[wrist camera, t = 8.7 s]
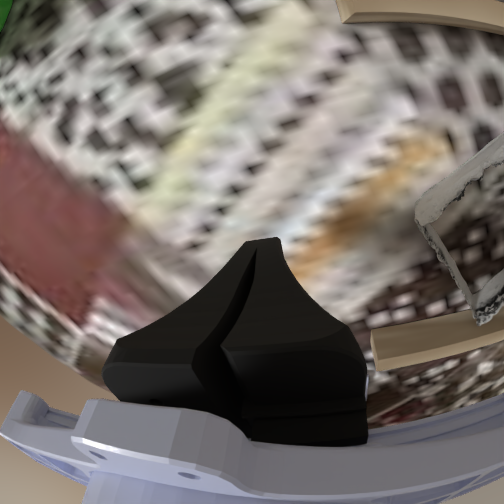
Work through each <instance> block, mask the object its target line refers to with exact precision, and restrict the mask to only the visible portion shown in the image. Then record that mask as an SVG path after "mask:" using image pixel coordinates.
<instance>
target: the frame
mask: <svg viewBox="0 0 504 504" xmlns="http://www.w3.org/2000/svg"><path fill="white" fill-rule="evenodd" d="M336 3H337V6H338V10H339V14H340V17H341V21H342V23H359V22H409V23H426V24H437V25H447V26H455V27H462V28H469V29H475V30H480V31H485V32H490V33H495V34H500V35H504V3H502V2H499V1H495V0H336ZM476 321H477V320H476V318H475V319H474V318H473V315H472V311H471V309H469V310H465V311H461V312H457V313H453V314H448V315H444V316H439V317H435V318H430V319H425V320H420V321H415V322H410V323H405V324H400V325H394V326H389V327H383V328H377V329H371V340H370V342H371V347H372V351H373V356H374V361H375V366H376V371H382V370H388V369H393V368H398V367H403V366H408V365H413V364H418V363H422V362H426V361H431V360H435V359H439V358H443V357H447V356H451V355H455V354H458V353H462V352H466V351H469V350H473V349H476V348H479V347H483V346H486V345H489V344H492V343H495V342H498V341H501V340H504V306H502V307H501V309H500V310H499V312H498V313H497V314H496V315H493V317H492V319H491V320H490V321H488V322H487V323H485V324H481V326H477V324H476Z"/></svg>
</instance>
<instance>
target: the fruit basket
mask: <svg viewBox="0 0 504 504" xmlns="http://www.w3.org/2000/svg"><path fill="white" fill-rule="evenodd" d="M12 2H13V0H0V32H1V30H2V28H3V27H4V24H5V21H6V19H7V16H8V14H9V11H10V9H11V6H12Z"/></svg>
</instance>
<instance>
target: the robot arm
mask: <svg viewBox="0 0 504 504" xmlns="http://www.w3.org/2000/svg"><path fill="white" fill-rule="evenodd" d="M102 377H103V380H104V382H105V384H106V385H107V387H108V388H109V389H110V391H111V392H112V393H113V394H114V395H115V396H116V397H117V398H118V399H119V400H120V401H115V400H108V399H89V400H87V402H86V404H85V406H84V408H83V411H82V413H81V415H80V416H79V415H75V414H71V413H68V412H64V411H61V410H57V409H54V408H51V407H49V406H48V404H47V403H46V402H45V401H44V400H43V399H41V398H40V397H39V396H37V395H36V394H33V393H30V392H27V391H24V390H21V391H20V393H19V394H18V397H17V398H16V400H15V402H14V404H13V405H12V407H11V409H10V411H9V413H8V415H7V417H6V419H5V421H4V423H3V425H2V426H1V429H0V435H1V436H3V437H4V438H5V439H6V440H8V441H9V442H10V443H12V444H13V445H14V446H16V447H17V448H18V449H19V450H21V451H22V452H24V453H25V454H26V455H28V456H29V457H31V458H32V459H34V460H35V461H36V462H38V463H40V464H42V465H44V466H46V467H48V468H50V469H51V470H53V471H56V472H57V473H60V474H61V475H63V476H65V477H68V478H70V479H72V480H74V481H76V482H78V483H80V484H83V485H85V486H87V489H86V492H85V495H84V498H83V501H82V504H439V503H442V502H445V501H447V500H450V499H453V498H456V497H458V496H461V495H463V494H466V493H468V492H471V491H473V490H476V489H478V488H480V487H482V486H485V485H487V484H489V483H491V482H493V481H496V480H498V479H500V478H502V477H504V393H502V394H500V395H497V396H495V397H492V398H489V399H487V400H484V401H481V402H478V403H475V404H472V405H469V406H466V407H463V408H460V409H457V410H453V411H450V412H446V413H443V414H439V415H436V416H432V417H428V418H424V419H420V420H416V421H411V422H407V423H402V424H397V425H392V426H387V427H381V428H376V429H369V430H368V425H367V416H366V408H367V407H366V398H367V391H368V382H369V376H368V374H367V366H366V362H365V359H364V356H363V353H362V351H361V349H360V346H359V344H358V343H357V341H356V339H355V337H354V335H353V334H352V332H351V330H350V328H349V327H348V326H347V325H345V324H344V323H342V322H340V321H339V320H337V319H336V318H334V317H333V316H332V315H330V314H329V313H328V312H327V311H325V310H324V309H323V308H322V307H321V306H320V305H319V304H318V303H316V302H315V301H314V300H313V299H312V298H311V297H310V296H309V295H308V293H307V292H306V291H305V290H304V289H303V288H302V286H301V285H300V284H299V282H298V281H297V280H296V278H295V277H294V275H293V274H292V272H291V270H290V269H289V267H288V265H287V263H286V261H285V259H284V255H283V250H282V245H281V240H280V239H279V238H278V237H273V238H266V239H259V240H252V241H246V242H245V243H244V244H243V245H242V246H241V247H240V248H239V250H238V251H237V252H236V253H235V254H234V256H233V257H232V258H231V259H230V260H229V261H228V262H227V264H226V265H225V266H224V267H223V268H222V269H221V270H220V271H219V272H218V273H217V274H216V275H215V276H214V277H213V278H212V279H211V280H210V281H209V282H208V283H207V284H206V285H205V286H204V287H203V288H202V289H201V290H200V291H199V292H197V293H196V294H195V295H194V296H192V297H191V298H190V299H189V300H187V301H186V302H185V303H183V304H182V305H180V306H179V307H177V308H176V309H175V310H173V311H172V312H170V313H169V314H167V315H165V316H164V317H162V318H160V319H159V320H157V321H155V322H153V323H151V324H150V325H148V326H146V327H144V328H142V329H140V330H137V331H135V332H133V333H131V334H129V335H126V336H124V337H122V338H119V339H117V341H116V343H115V345H114V346H113V348H112V350H111V352H110V354H109V356H108V358H107V360H106V362H105V364H104V366H103V368H102Z"/></svg>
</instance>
